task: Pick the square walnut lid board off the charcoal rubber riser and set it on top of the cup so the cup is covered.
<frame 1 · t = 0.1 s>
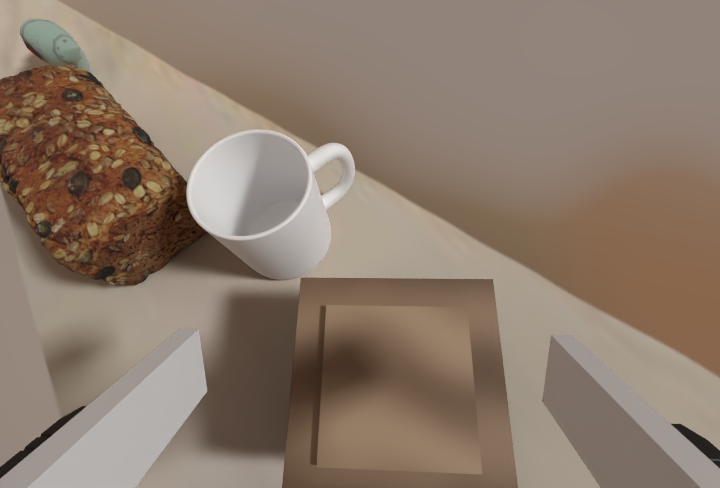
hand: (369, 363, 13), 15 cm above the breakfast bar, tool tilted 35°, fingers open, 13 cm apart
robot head: (85, 77, 41), on the breakfast bar
lid: (394, 380, 22), point 5 cm above the breakfast bar, touching riser
bread: (136, 197, 34), on the breakfast bar
cup: (305, 228, 32), on the breakfast bar
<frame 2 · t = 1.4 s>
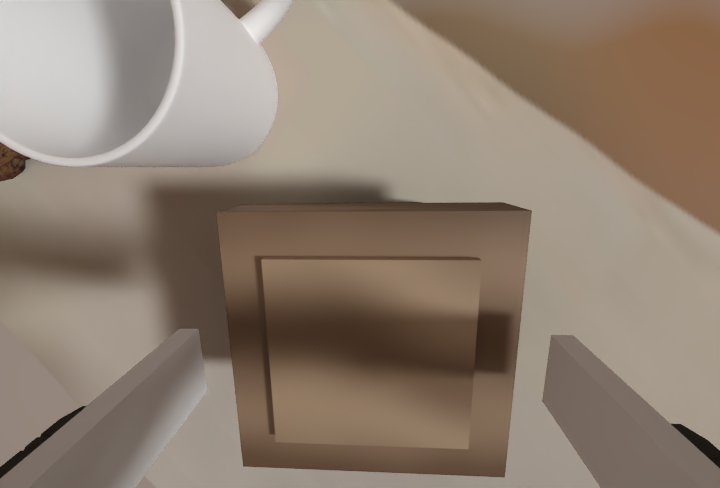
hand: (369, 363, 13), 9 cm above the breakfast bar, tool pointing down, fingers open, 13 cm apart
lid: (371, 321, 17), point 5 cm above the breakfast bar, touching riser
cup: (236, 75, 20), on the breakfast bar
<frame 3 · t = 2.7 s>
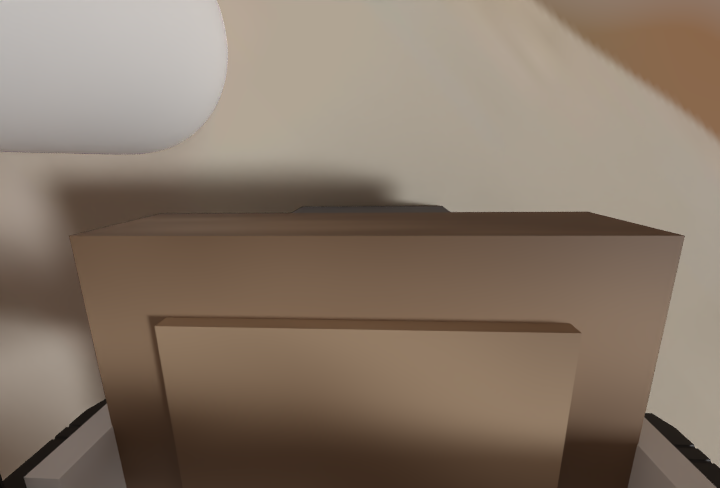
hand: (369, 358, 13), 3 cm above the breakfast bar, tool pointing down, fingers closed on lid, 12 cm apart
lid: (367, 396, 11), point 5 cm above the breakfast bar, touching gripper, riser
cup: (168, 18, 13), on the breakfast bar
riser: (371, 323, 16), on the breakfast bar
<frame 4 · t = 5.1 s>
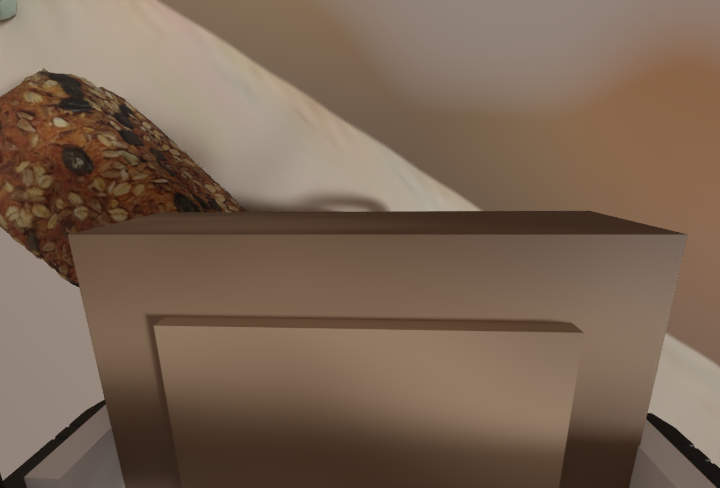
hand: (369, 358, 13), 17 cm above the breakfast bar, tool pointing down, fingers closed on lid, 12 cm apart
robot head: (12, 10, 27), on the breakfast bar
lid: (368, 396, 11), point 19 cm above the breakfast bar, touching gripper
bread: (176, 208, 30), on the breakfast bar
when the fingers open (10 cm above the breakfast bar, at t = 7.3 s): lid drops 2 cm, resting on cup.
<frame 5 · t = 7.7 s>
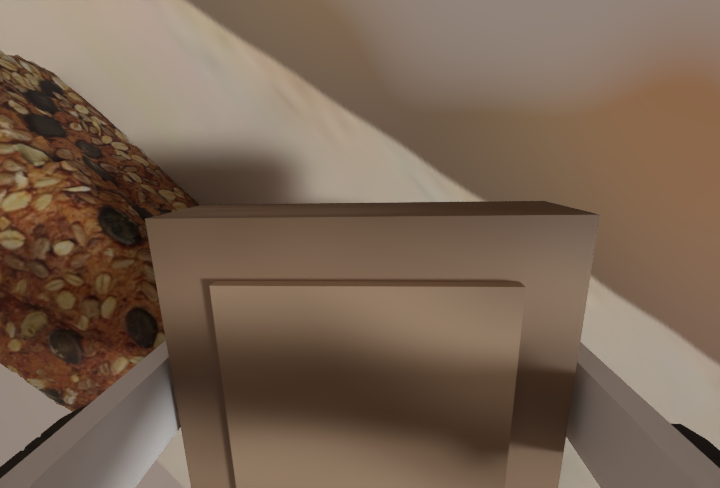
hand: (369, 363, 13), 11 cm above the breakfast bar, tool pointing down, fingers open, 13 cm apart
lid: (369, 355, 13), point 10 cm above the breakfast bar, touching cup
bread: (128, 218, 24), on the breakfast bar
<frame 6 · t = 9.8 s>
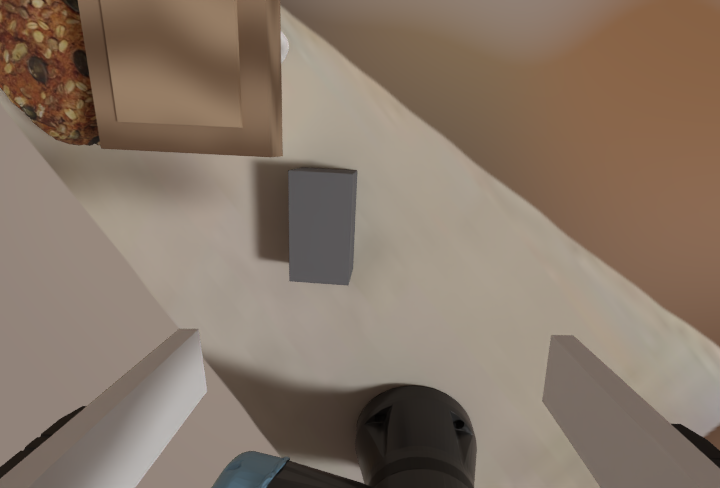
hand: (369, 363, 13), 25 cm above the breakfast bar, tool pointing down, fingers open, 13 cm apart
lid: (199, 66, 24), point 10 cm above the breakfast bar, touching cup
bread: (89, 43, 34), on the breakfast bar
riser: (327, 219, 37), on the breakfast bar
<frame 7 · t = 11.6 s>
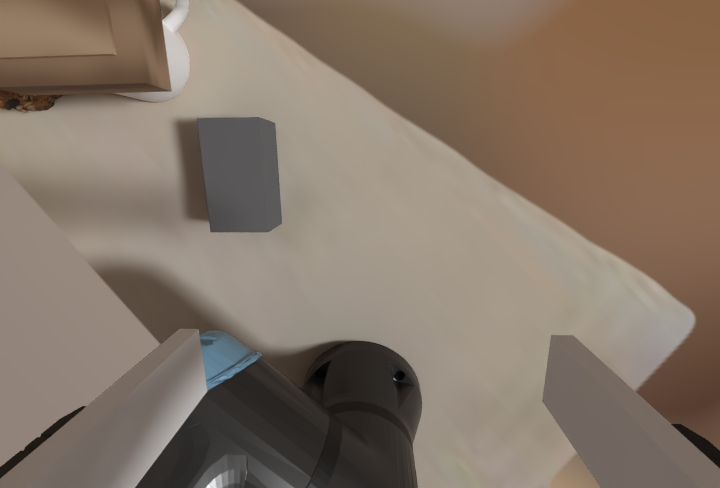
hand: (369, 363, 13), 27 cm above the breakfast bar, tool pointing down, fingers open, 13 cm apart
lid: (83, 8, 26), point 10 cm above the breakfast bar, touching cup
bread: (10, 16, 36), on the breakfast bar
cup: (168, 50, 36), on the breakfast bar, touching lid
riser: (252, 175, 38), on the breakfast bar
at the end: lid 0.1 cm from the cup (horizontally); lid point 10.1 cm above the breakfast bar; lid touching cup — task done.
